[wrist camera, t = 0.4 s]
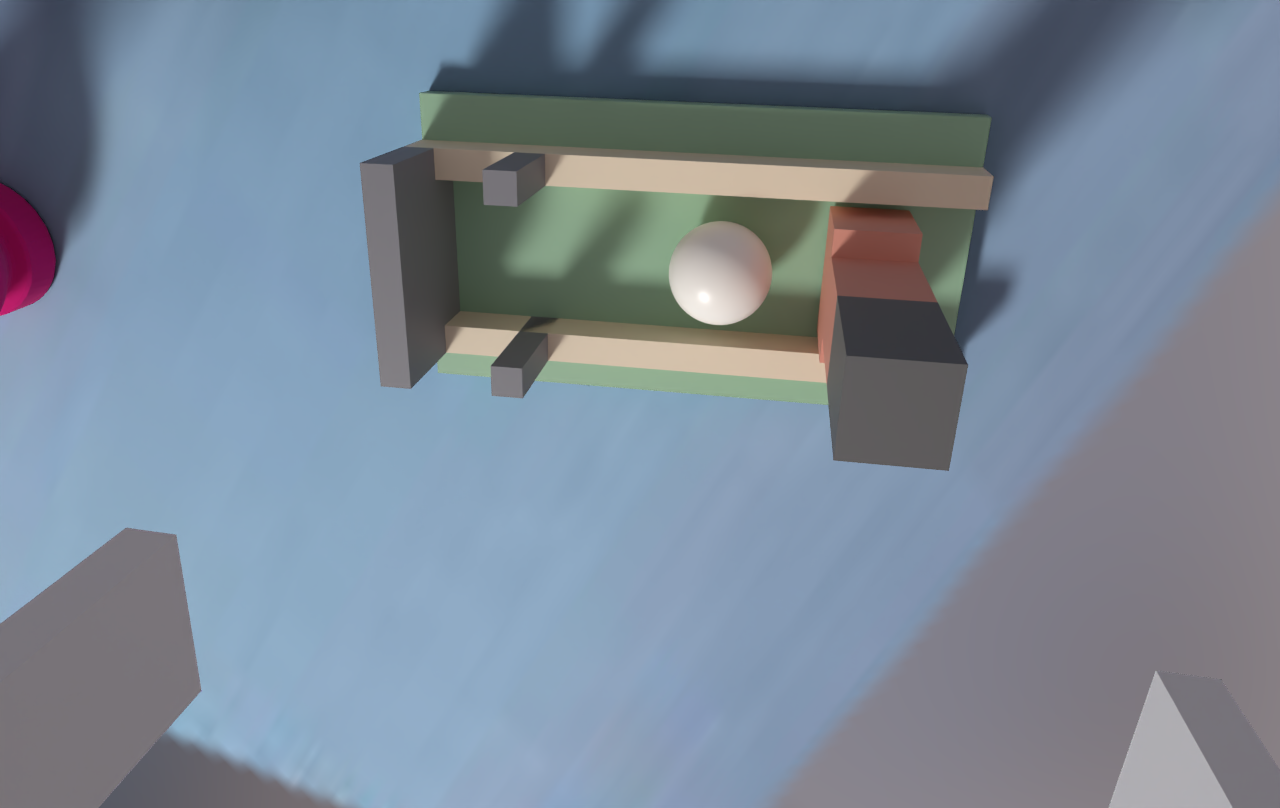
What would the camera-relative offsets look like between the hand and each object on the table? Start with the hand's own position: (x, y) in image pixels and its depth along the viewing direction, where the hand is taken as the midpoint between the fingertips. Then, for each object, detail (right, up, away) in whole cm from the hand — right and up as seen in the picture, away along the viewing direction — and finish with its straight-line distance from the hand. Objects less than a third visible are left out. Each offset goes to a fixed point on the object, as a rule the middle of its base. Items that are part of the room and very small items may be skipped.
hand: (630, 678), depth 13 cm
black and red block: (+9, +9, +24) cm, 27 cm away
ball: (+3, +9, +23) cm, 25 cm away
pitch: (+2, +10, +26) cm, 28 cm away
